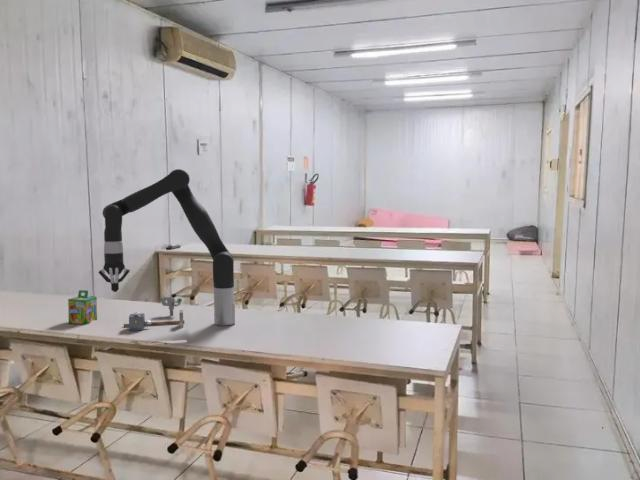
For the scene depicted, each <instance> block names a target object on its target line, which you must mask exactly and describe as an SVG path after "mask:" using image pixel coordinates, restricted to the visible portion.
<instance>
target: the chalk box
mask: <svg viewBox="0 0 640 480" xmlns="http://www.w3.org/2000/svg"><path fill="white" fill-rule="evenodd" d="M82 294H84V295H82ZM88 294H89V290H86V289H85V290H84V289H83V290H81V289H80V290H78V295H77V296H75V297H71V298H68V299H67V304H68V305H67V306H68V310H67V311H68V313H67V314H68V324H74V325H89V324H91V322H92V321H97V320H98V311H97V310H98V309H97V307H98V303H97V300H98V298H97V296H92V295H88Z"/></svg>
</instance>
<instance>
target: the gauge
mask: <svg viewBox="0 0 640 480" xmlns="http://www.w3.org/2000/svg"><path fill="white" fill-rule="evenodd" d="M145 318H146V317H145V313H143V312H141V313H140V311H139V312H134V313H130V314H129V316H128V324H129V327H128V332H136V331H138V332H139V331H145V327H146V326H145V324H152V322H153V321H152V320H146V319H145Z"/></svg>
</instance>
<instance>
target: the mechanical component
mask: <svg viewBox="0 0 640 480" xmlns="http://www.w3.org/2000/svg"><path fill="white" fill-rule="evenodd" d="M160 301H161V305H162V306H164V307H168V310H169V316H170V317H174V309H175V307H179V306H181V304H182V301H183V300H182V298H180V297H178V298H177V299H175V297H173V296H169V297H168V296H163V297H161V298H160Z"/></svg>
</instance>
